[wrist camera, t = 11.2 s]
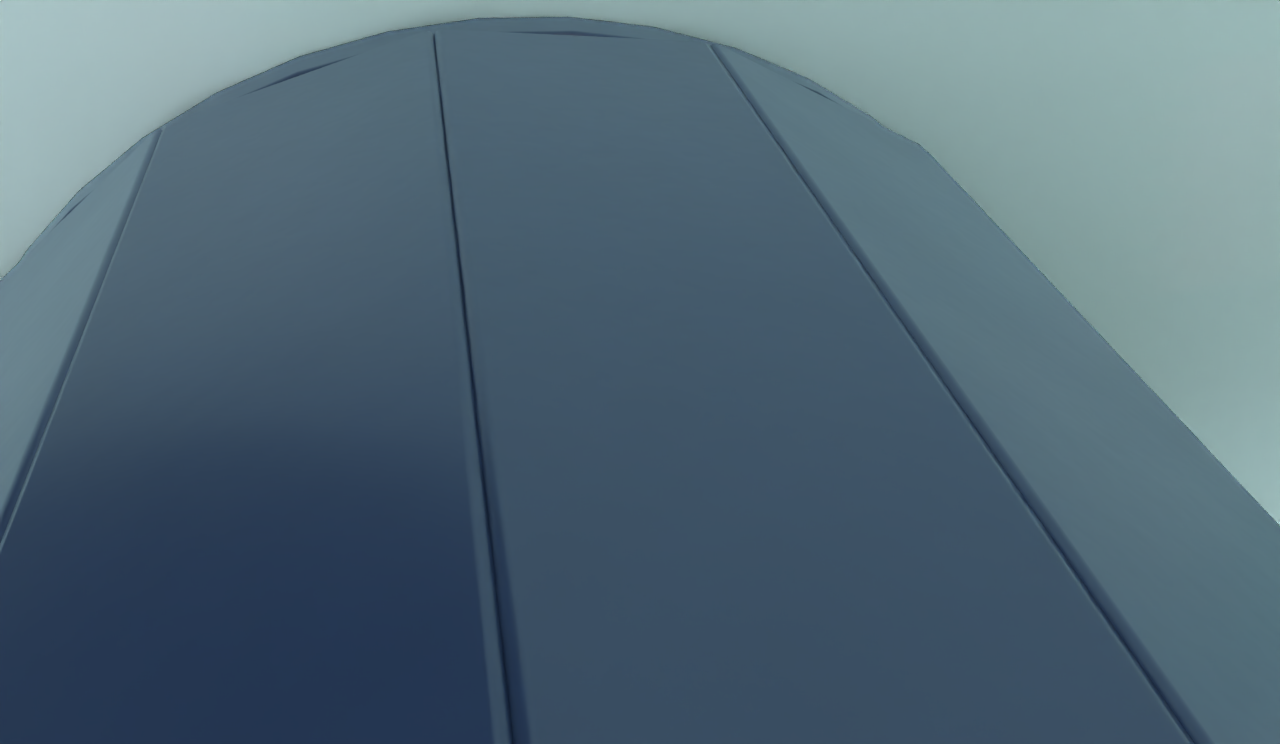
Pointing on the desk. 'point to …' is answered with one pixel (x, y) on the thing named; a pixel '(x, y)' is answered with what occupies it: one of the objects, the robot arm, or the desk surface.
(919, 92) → the desk surface
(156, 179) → the tin
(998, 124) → the desk surface
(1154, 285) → the desk surface
